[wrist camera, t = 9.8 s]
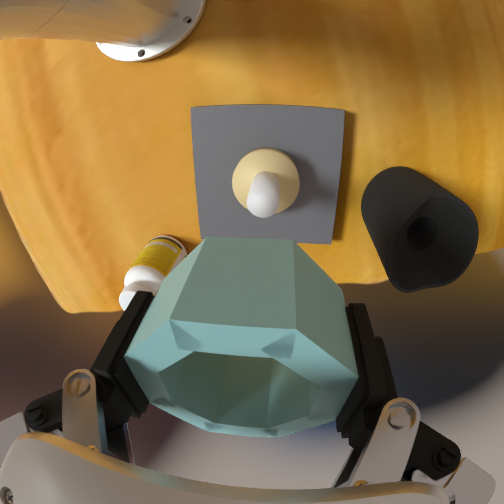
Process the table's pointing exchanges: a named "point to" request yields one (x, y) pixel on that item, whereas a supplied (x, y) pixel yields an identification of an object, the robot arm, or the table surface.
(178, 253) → the supplement bottle
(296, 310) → the ring
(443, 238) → the pen holder
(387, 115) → the table surface
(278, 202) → the post stand
